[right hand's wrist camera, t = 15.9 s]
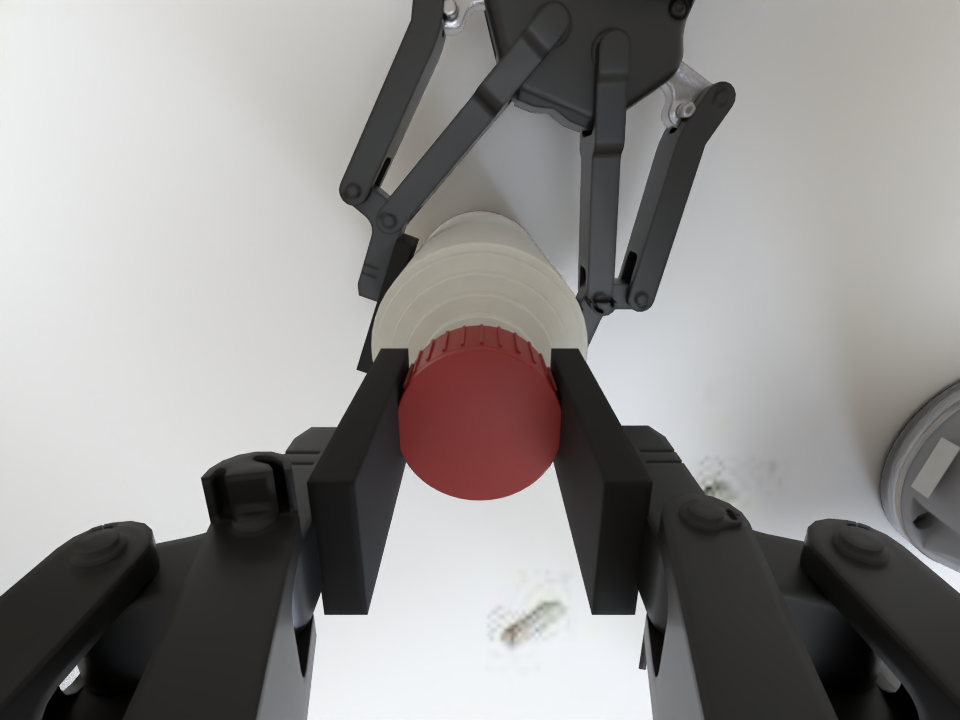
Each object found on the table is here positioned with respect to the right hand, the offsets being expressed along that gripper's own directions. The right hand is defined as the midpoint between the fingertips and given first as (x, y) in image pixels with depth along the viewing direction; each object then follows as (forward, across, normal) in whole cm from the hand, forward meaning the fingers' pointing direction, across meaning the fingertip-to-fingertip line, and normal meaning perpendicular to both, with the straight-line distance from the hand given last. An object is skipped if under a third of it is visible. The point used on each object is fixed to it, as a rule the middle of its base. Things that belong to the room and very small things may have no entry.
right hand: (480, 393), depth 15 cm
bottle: (+18, 0, 0) cm, 18 cm away
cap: (-2, 0, 0) cm, 2 cm away
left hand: (+11, +2, +5) cm, 12 cm away
